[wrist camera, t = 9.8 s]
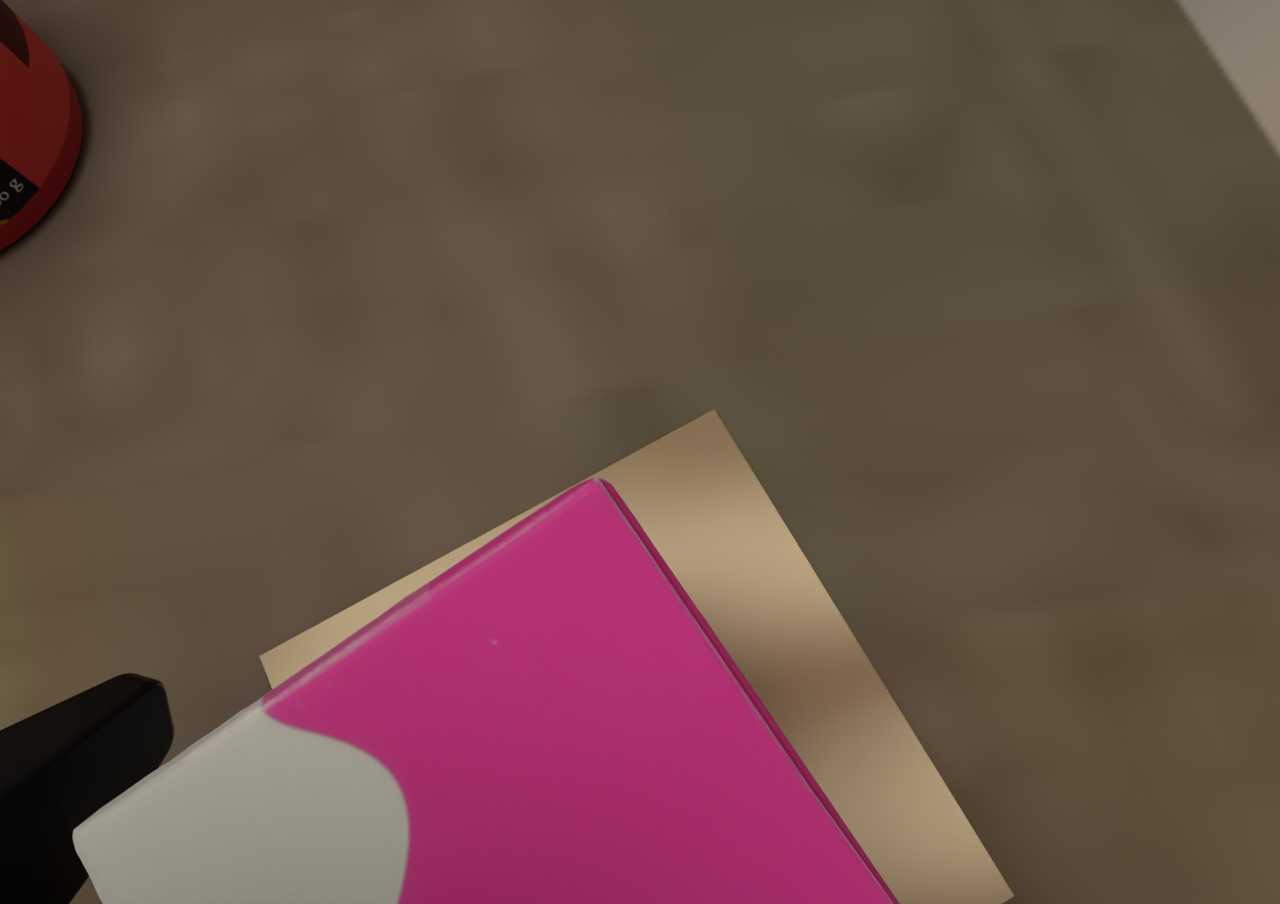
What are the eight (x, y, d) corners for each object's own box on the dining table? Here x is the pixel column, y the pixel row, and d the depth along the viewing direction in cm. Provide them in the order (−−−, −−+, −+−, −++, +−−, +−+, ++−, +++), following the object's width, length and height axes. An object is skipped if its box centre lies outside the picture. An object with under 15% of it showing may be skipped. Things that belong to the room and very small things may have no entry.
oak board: (993, 883, 18) (1014, 895, 17) (498, 1191, 17) (484, 1227, 16) (712, 425, 21) (714, 409, 20) (284, 658, 20) (259, 656, 19)
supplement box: (577, 986, 17) (350, 1579, 6) (430, 731, 18) (26, 804, 7) (807, 812, 17) (1006, 1040, 6) (646, 579, 19) (579, 433, 8)
